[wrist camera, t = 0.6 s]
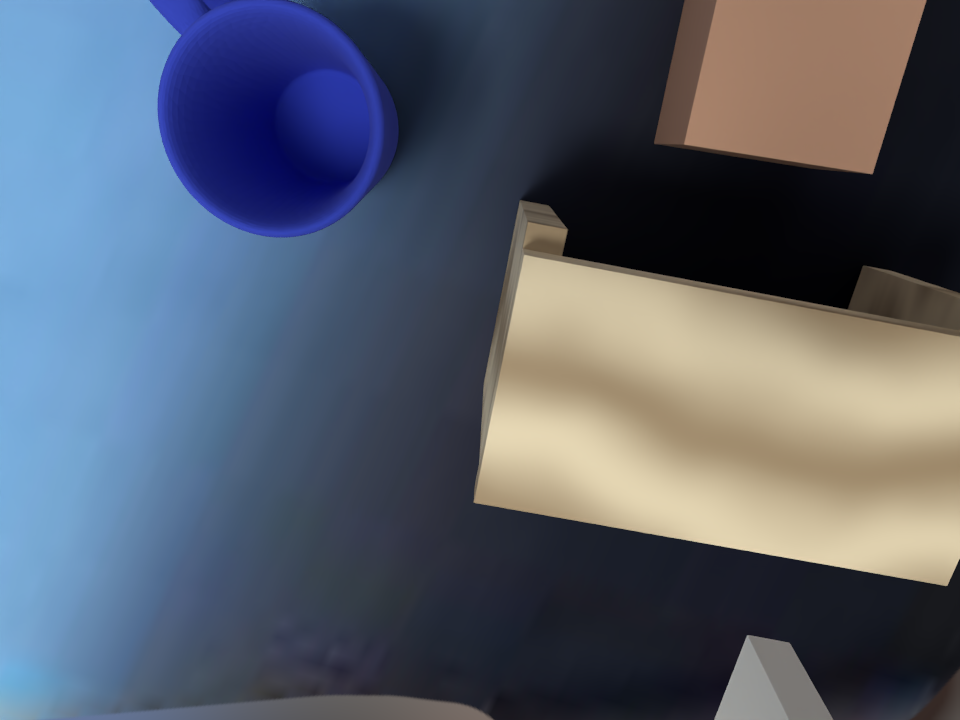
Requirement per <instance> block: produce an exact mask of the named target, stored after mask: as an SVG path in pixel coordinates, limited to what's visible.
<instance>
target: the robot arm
mask: <svg viewBox="0 0 960 720" xmlns="http://www.w3.org/2000/svg"><path fill="white" fill-rule="evenodd" d="M715 720H833V719H832V717H831V715H830V713H829V712H828V710H827V708H826V706H825V705H824V703H823V701H822V699H821V698H820V696H819V694H818V692H817V690H816V689H815V687H814V685H813V683H812V682H811V680H810V678H809V676H808V675H807V673H806V671H805V669H804V668H803V666H802V664H801V662H800V661H799V659H798V657H797V655H796V653H795V652H794V650H793V648H792V646H791V645H790V643H788V642H782V641H777V640H772V639H766V638H761V637H755V636H750V635H747V637H746V640H745V642H744V645H743V648H742V650H741V653H740V655H739V658H738V660H737V663H736V666H735V668H734V671H733V673H732V676H731V678H730V681H729V684H728V686H727V689H726V691H725V694H724V696H723V699H722V702H721V704H720V707H719V709H718V712H717V714H716V717H715Z"/></svg>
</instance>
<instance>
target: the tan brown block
mask: <svg viewBox="0 0 960 720" xmlns="http://www.w3.org/2000/svg"><path fill="white" fill-rule="evenodd" d="M925 3H926V0H685V1H684V6H683V10H682V15H681V20H680V24H679V29H678V34H677V38H676V43H675V48H674V52H673V57H672V62H671V66H670V71H669V76H668V80H667V85H666V90H665V94H664V99H663V104H662V108H661V113H660V117H659V122H658V127H657V131H656V136H655V141H654V144H658V145H665V146H671V147H677V148H684V149H690V150H696V151H703V152H709V153H716V154H722V155H728V156H735V157H741V158H747V159H754V160H760V161H766V162H773V163H779V164H786V165H792V166H798V167H805V168H811V169H821V170H832V171H843V172H854V173H865V174H873V171H874V168H875V164H876V161H877V158H878V155H879V151H880V148H881V145H882V142H883V139H884V135H885V132H886V129H887V126H888V122H889V119H890V116H891V113H892V110H893V106H894V103H895V100H896V97H897V93H898V90H899V87H900V84H901V81H902V77H903V74H904V71H905V68H906V64H907V61H908V58H909V55H910V52H911V48H912V45H913V42H914V39H915V35H916V32H917V29H918V26H919V23H920V19H921V16H922V13H923V10H924V6H925Z"/></svg>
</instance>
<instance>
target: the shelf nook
mask: <svg viewBox="0 0 960 720" xmlns="http://www.w3.org/2000/svg"><path fill="white" fill-rule="evenodd" d="M567 231H568V229H567V228H566V227H565V225H564V224H563V223H562V222H561V220H560V219H559V218H558V216H557V215H556V214H555V213H554V211H553V210H552V209H551V208H550V206H548V205H543V204H538V203H533V202H527V201H522V200H520V202H519V207H518V213H517V218H516V223H515V228H514V233H513V238H512V243H511V248H510V253H509V258H508V263H507V269H506V274H505V279H504V284H503V289H502V294H501V299H500V304H499V309H498V314H497V319H496V324H495V330H494V335H493V340H492V345H491V350H490V355H489V360H488V365H487V370H486V375H485V380H484V391H483V409H482V426H481V443H480V460H479V467H478V472H477V477H476V482H475V492H474V503H479V504H485V505H490V506H496V507H502V508H508V509H513V510H519V511H525V512H530V513H536V514H542V515H547V516H553V517H559V518H564V519H570V520H576V521H581V522H587V523H593V524H598V525H604V526H610V527H615V528H621V529H627V530H632V531H638V532H644V533H649V534H655V535H661V536H666V537H672V538H678V539H684V540H689V541H695V542H701V543H706V544H712V545H718V546H723V547H729V548H735V549H740V550H746V551H752V552H757V553H763V554H769V555H774V556H780V557H786V558H791V559H797V560H803V561H808V562H814V563H820V564H825V565H831V566H837V567H843V568H848V569H854V570H860V571H865V572H871V573H877V574H882V575H888V576H894V577H899V578H905V579H911V580H916V581H922V582H928V583H933V584H939V585H945V586H947V585H948V583H949V581H950V578H951V576H952V574H953V572H954V570H955V567H956V565H957V563H958V561H959V559H960V293H957V292H954V291H951V290H948V289H945V288H942V287H939V286H936V285H933V284H930V283H927V282H924V281H921V280H918V279H915V278H912V277H909V276H906V275H903V274H900V273H897V272H894V271H890V270H885V269H880V268H874V267H869V266H864V265H863V267H862V270H861V273H860V276H859V279H858V281H857V284H856V287H855V290H854V293H853V296H852V298H851V301H850V304H849V307H848V310H846V309H841V308H836V307H830V306H825V305H820V304H814V303H809V302H804V301H798V300H793V299H788V298H782V297H777V296H772V295H767V294H761V293H756V292H751V291H745V290H740V289H735V288H729V287H724V286H719V285H713V284H708V283H703V282H697V281H692V280H687V279H681V278H676V277H671V276H665V275H660V274H655V273H649V272H644V271H639V270H634V269H628V268H623V267H618V266H612V265H607V264H602V263H596V262H591V261H586V260H580V259H575V258H570V257H564V256H562V253H563V249H564V244H565V240H566V235H567Z"/></svg>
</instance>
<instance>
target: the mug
mask: <svg viewBox="0 0 960 720" xmlns="http://www.w3.org/2000/svg"><path fill="white" fill-rule="evenodd" d="M150 2H151V3H152V4H153V5H154V6H155V8H156V9H157V10H158V11H159V12H160V13H161V14H162V15H163V16H164V17H165V19H166V20H167V21H168V22H169V23H170V24H171V25H172V26H173V27H174V28H175V29H176V30H177V31H178V32H179V33H180V34H181V35H182V36H181V37H180V38H179V39H178V41H177V42H176V44H175V46H174V47H173V49H172V51H171V52H170V55H169V57H168V59H167V61H166V64H165V67H164V70H163V73H162V76H161V80H160V85H159V93H158V120H159V128H160V133H161V137H162V142H163V145H164V148H165V151H166V154H167V156H168V158H169V161H170V163H171V165H172V167H173V169H174V171H175V172H176V174H177V176H178V178H179V179H180V180H181V182H182V183H183V185H184V186H185V188H186V189H187V190H188V191H189V193H190V194H191V195H192V196H193V197H194V198H195V199H196V200H197V201H198V202H199V203H200V204H201V205H202V206H203V207H204V208H206V209H207V210H208V211H209V212H210V213H212V214H213V215H214V216H216V217H218V218H219V219H221V220H222V221H224V222H226V223H228V224H230V225H232V226H234V227H236V228H238V229H241V230H243V231H246V232H249V233H253V234H257V235H262V236H267V237H296V236H301V235H306V234H310V233H313V232H317V231H319V230H321V229H324V228H326V227H328V226H330V225H332V224H333V223H335V222H337V221H338V220H340V219H341V218H342V217H344V216H345V215H346V214H347V213H349V212H350V211H351V210H352V209H353V208H354V207H355V206H356V205H357V204H358V203H359V202H360V201H361V200H362V199H363V198H364V197H365V196H366V195H367V193H368V192H369V191H370V190H371V189H372V188H373V187H374V186H375V185H376V184H377V183H378V182H379V181H380V180H381V179H382V177H383V176H384V175H385V173H386V172H387V170H388V168H389V167H390V165H391V163H392V160H393V158H394V155H395V152H396V148H397V144H398V134H399V127H398V117H397V112H396V108H395V104H394V102H393V99H392V97H391V94H390V92H389V90H388V89H387V87H386V85H385V83H384V82H383V81H382V79H381V78H380V76H379V75H378V74H377V72H376V71H375V70H374V68H373V67H372V66H371V64H370V63H369V62H368V60H367V59H366V58H365V56H364V55H363V54H362V52H361V51H360V50H359V48H358V47H357V46H356V45H355V43H354V42H353V41H352V40H351V39H350V38H349V36H348V35H347V34H346V33H345V32H344V31H343V30H341V29H340V28H339V27H338V26H337V25H336V24H334V23H333V22H332V21H330V20H329V19H328V18H326V17H325V16H323V15H321V14H320V13H318V12H316V11H314V10H312V9H310V8H308V7H306V6H304V5H301V4H298V3H295V2H292V1H288V0H150Z"/></svg>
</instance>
